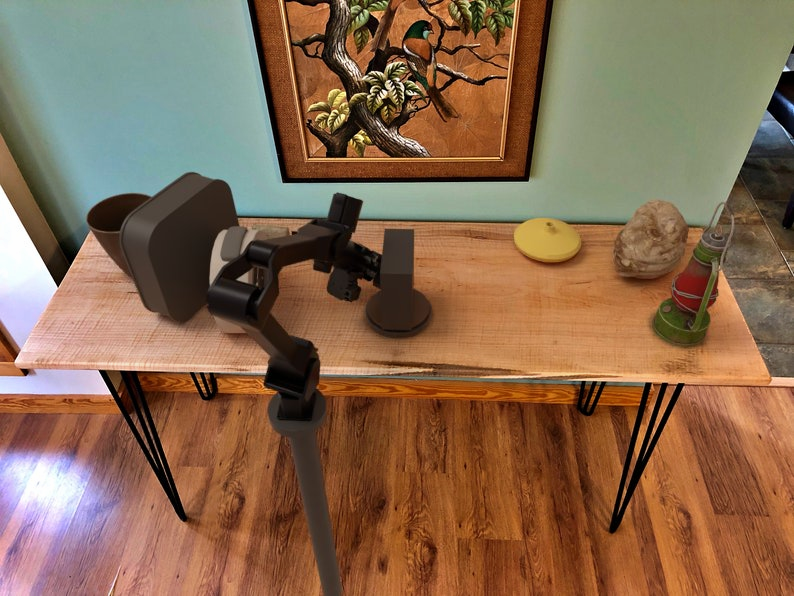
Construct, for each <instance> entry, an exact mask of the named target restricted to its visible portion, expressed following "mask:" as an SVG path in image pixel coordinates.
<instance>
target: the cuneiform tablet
mask: <svg viewBox="0 0 794 596" xmlns="http://www.w3.org/2000/svg"><path fill="white" fill-rule="evenodd" d="M251 230H262V231H263V232H264V234H265V236H266V238H267V239H272V238H278V237H283V236H289V235H295V234H297V231H298V230H291V233H290V227H288V226H279V225H272V224H257V223H256V224H255V223H254V224H251Z"/></svg>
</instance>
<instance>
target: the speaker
mask: <svg viewBox="0 0 794 596" xmlns="http://www.w3.org/2000/svg"><path fill="white" fill-rule="evenodd" d="M234 226H240V222H239V218H238V214H237V209H236V204H235V200H234V195H233V191H232V188H231V186H230V185H229V184H228V182H227V181H225V180H224V179H219V178H210V177H208V176H205V175H202V174H200V173H199V172H195V171H189V172H188V171H187V172H185V173H183V174H181V175H180V176H179V177H177V178H176V179H174V180H173V181H172V182H170V183H169V184H168V185H166V186H165V187H163V188H162V189H161V190H160V191H158V192H157V193H155V194H153V196H151V198H150V199H148V200H147V201H146V202H144V203H143V204H141V205H140V206H139V207H137V208H136V209H135V210H133V211H132V212H131V213H130V214H129V215H128V216H127V217H126V219H125V220H124V222H123V224H122V226H121V230H120V235H119V243H120V247H121V250H122V253H123V255H124V258H125V261H126V263H127V266H128V268H129V271H130V273H131V276H132V278H131V279H132V281H133V284H134V286H135V288H136V291H137V294H138V296H139V298H140V300H141V303H142V306H143V307H144V308H145V309H146V310H147V311H149V312H151V313H158V314H159V315H162V316H166V317H168V318H170V319H171V320H172V321H174V322H177V323H183V322H186V321H188V320H190V319H192V317H193V316H195V315H196V314H197V313H198V312H199V311H200V310H201V309H202V308H203V307H204V306H205V305H207V302H206V295H207V291H208V289H209V287H210V263H211V257H212V251H213V247H214V243H215V240H216V238H217V236H218V234H219V233H220V232H221V231H223V230H228V229H229V228H230V227H234Z"/></svg>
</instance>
